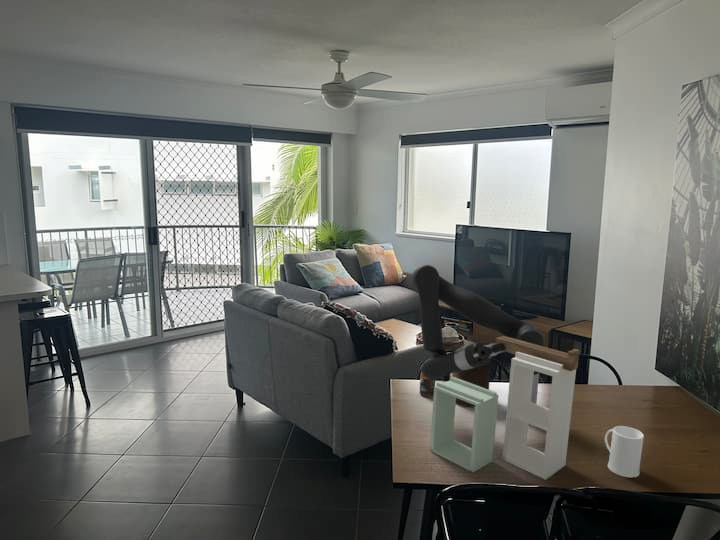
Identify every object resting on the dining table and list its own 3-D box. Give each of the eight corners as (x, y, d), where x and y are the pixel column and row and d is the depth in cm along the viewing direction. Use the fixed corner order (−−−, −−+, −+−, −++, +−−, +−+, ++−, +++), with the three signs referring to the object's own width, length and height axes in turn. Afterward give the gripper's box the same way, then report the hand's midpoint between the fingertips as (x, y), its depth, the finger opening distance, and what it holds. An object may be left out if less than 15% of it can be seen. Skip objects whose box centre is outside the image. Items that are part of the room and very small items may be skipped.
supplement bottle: (436, 393, 205) (438, 366, 203) (432, 398, 200) (433, 370, 198) (422, 390, 208) (423, 363, 206) (417, 395, 202) (418, 367, 201)
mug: (593, 458, 160) (597, 422, 158) (615, 455, 163) (620, 419, 161) (622, 479, 149) (627, 440, 147) (646, 475, 152) (651, 437, 150)
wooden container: (463, 388, 211) (467, 336, 207) (495, 400, 200) (500, 346, 197) (440, 398, 201) (444, 343, 197) (472, 411, 190) (477, 353, 187)
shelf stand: (522, 446, 166) (532, 345, 160) (565, 465, 156) (577, 358, 150) (502, 459, 157) (512, 353, 152) (545, 479, 147) (557, 367, 142)
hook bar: (502, 346, 163) (503, 330, 162) (577, 368, 146) (579, 350, 145) (495, 348, 160) (496, 332, 160) (571, 371, 143) (573, 352, 142)
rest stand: (449, 440, 168) (454, 375, 164) (492, 460, 157) (498, 391, 153) (429, 450, 161) (434, 383, 157) (473, 472, 150) (479, 400, 146)
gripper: (454, 349, 166) (494, 335, 154) (480, 341, 175) (519, 327, 164) (462, 372, 164) (504, 359, 153) (488, 362, 174) (528, 350, 162)
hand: (512, 343), depth 158 cm, fingers open, 8 cm apart
